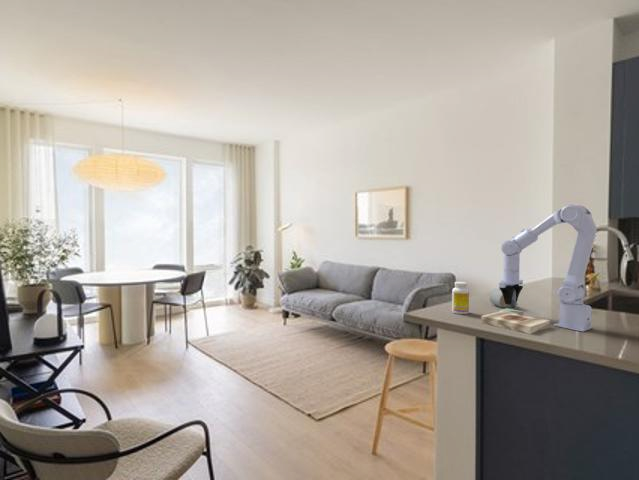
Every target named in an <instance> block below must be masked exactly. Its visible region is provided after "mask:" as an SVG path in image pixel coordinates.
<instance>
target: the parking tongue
mask: <svg viewBox="0 0 639 480" xmlns="http://www.w3.org/2000/svg"><path fill="white" fill-rule="evenodd" d="M499 311H504V312H509V313H514V314H519V315H524V316H525V313H524V312H525V311H524V310H518V309H514V308H502V309H499V310H497V312H499Z"/></svg>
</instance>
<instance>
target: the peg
mask: <svg viewBox="0 0 639 480" xmlns="http://www.w3.org/2000/svg"><path fill="white" fill-rule="evenodd" d="M506 307H509V308H508V309H515V308H517V307H516V290H514V293H513V296H512V303H511V305H508V304H506Z"/></svg>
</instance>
